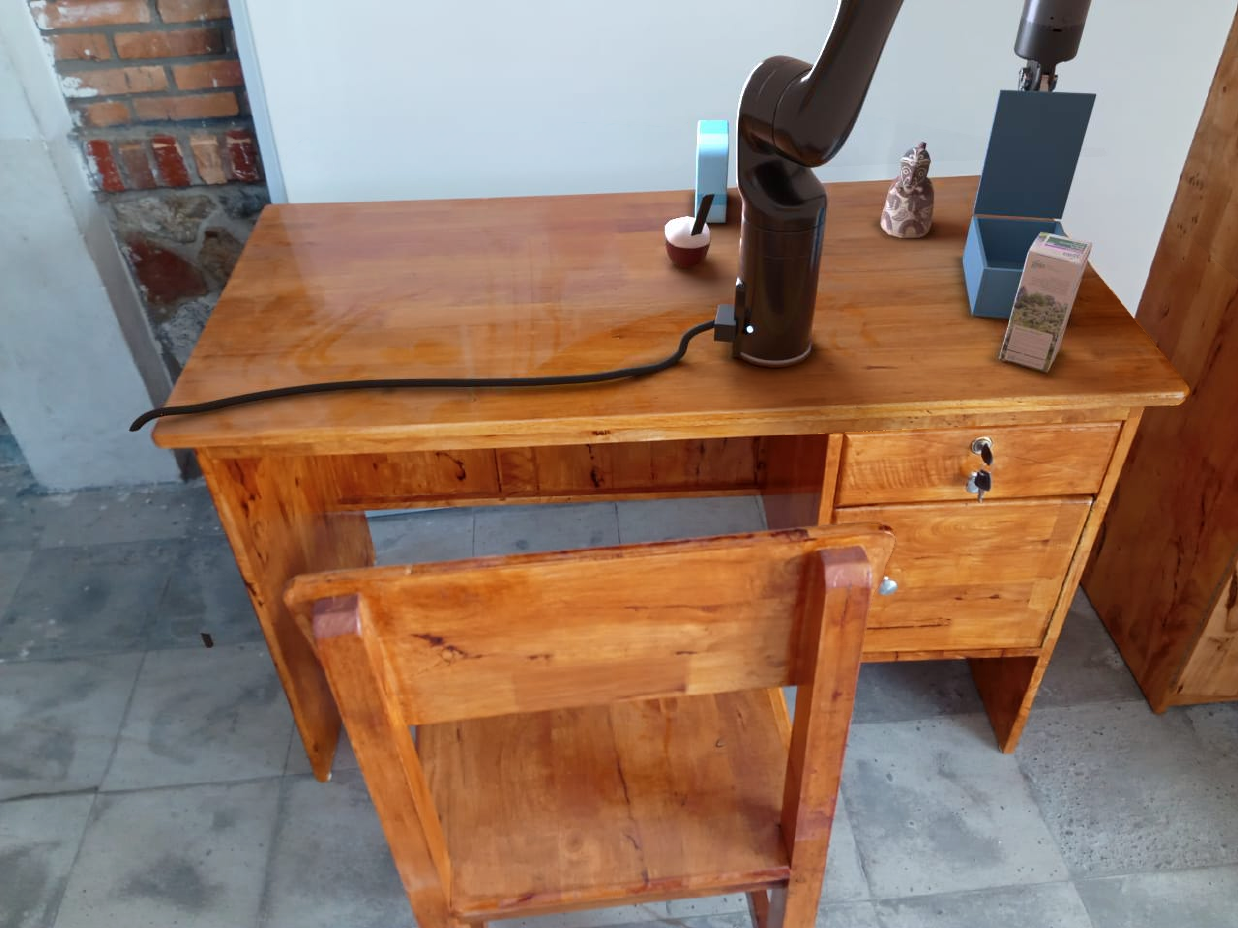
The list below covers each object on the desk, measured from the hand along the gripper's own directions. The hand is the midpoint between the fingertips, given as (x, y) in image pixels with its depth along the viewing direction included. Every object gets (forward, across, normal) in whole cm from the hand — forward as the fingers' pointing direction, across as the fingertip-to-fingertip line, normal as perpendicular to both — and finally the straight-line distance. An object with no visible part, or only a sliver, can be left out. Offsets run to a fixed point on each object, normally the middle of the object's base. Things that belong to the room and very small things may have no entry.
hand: (1019, 153), depth 129 cm
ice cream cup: (+13, +13, -43) cm, 47 cm away
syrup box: (+13, +31, 0) cm, 33 cm away
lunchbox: (+13, +14, 0) cm, 19 cm away
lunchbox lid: (-2, +7, 0) cm, 7 cm away
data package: (+13, -5, -42) cm, 44 cm away
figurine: (+13, -3, -13) cm, 18 cm away
